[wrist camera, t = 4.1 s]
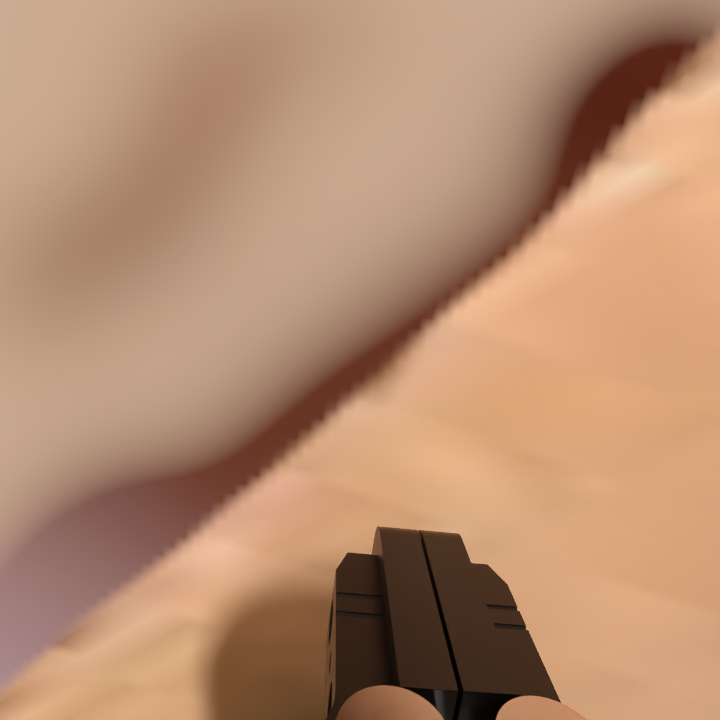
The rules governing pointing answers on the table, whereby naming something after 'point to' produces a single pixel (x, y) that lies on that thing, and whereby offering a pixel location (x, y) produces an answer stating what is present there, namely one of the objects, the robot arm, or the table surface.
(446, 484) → the table surface
